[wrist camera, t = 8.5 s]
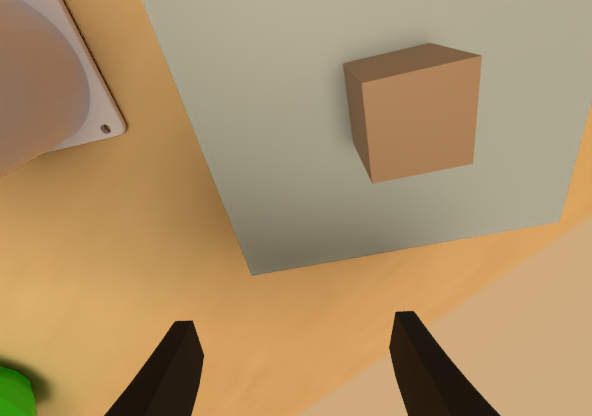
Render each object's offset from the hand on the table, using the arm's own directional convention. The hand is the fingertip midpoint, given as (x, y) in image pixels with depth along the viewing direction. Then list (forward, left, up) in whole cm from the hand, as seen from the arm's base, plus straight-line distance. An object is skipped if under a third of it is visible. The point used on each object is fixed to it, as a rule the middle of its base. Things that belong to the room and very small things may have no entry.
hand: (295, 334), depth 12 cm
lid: (+5, +6, -5) cm, 10 cm away
